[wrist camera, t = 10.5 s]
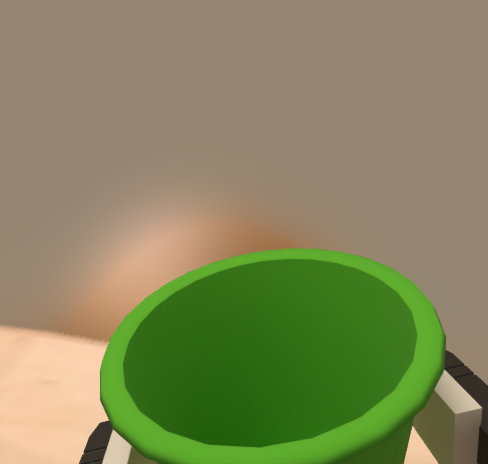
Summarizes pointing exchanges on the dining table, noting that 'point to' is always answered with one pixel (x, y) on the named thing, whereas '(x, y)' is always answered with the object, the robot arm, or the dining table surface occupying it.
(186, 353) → the cup
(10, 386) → the dining table surface
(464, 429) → the robot arm
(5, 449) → the dining table surface
